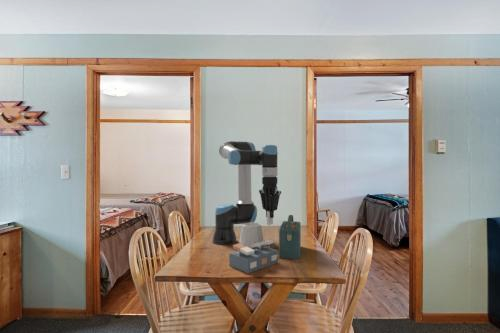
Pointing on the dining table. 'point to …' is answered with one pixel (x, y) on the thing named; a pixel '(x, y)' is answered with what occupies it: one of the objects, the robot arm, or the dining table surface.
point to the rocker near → (243, 249)
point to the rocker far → (267, 243)
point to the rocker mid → (255, 245)
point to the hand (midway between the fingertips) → (269, 224)
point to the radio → (290, 239)
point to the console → (253, 259)
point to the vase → (251, 234)
